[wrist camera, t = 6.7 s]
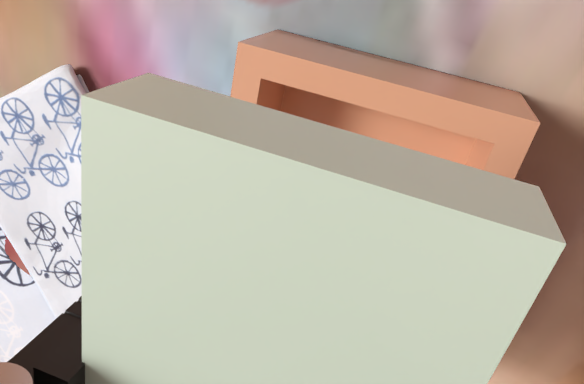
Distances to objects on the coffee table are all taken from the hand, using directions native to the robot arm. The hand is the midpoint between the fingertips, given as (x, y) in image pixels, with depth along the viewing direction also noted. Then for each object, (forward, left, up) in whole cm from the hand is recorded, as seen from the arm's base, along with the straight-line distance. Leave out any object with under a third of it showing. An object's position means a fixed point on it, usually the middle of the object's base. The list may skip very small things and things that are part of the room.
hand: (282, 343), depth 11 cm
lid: (0, 0, +2) cm, 2 cm away
